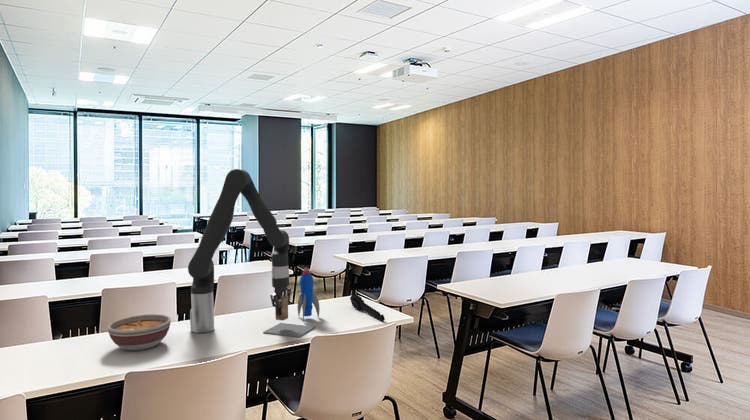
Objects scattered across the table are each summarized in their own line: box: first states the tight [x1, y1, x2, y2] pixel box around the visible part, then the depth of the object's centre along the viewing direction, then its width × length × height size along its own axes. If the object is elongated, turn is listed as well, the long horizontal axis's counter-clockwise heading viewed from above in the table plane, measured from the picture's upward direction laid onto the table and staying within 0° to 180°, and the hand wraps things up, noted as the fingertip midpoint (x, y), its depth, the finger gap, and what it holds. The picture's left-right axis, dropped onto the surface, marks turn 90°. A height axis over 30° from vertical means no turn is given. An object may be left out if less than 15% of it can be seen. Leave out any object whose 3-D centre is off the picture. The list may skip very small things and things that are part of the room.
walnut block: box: [274, 296, 289, 321], centre depth 213 cm, size 4×4×10 cm
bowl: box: [107, 313, 172, 352], centre depth 194 cm, size 23×23×10 cm
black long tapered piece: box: [349, 292, 386, 323], centre depth 237 cm, size 35×4×8 cm, turn 28°
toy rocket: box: [297, 266, 320, 322], centre depth 227 cm, size 11×10×25 cm
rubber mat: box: [262, 322, 316, 338], centre depth 212 cm, size 18×14×1 cm
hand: (281, 313), depth 213 cm, fingers closed on walnut block, 4 cm apart
